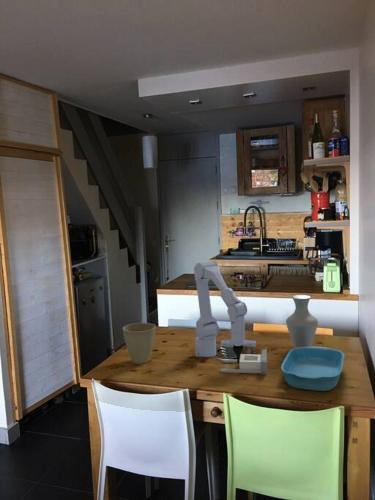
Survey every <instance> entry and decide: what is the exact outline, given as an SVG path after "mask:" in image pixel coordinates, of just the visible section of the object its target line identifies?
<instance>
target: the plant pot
mask: <svg viewBox="0 0 375 500" xmlns="http://www.w3.org/2000/svg"><path fill="white" fill-rule="evenodd" d="M156 328H157V327H156V324H155V323H154V324H153V323H150V322H149V323H148V322H136V323H134V322H133V323H129V324H126V325H124V326H123V327H122V334H123V337H124V342H125V344H126V348H127V352H128V354H129V357H130V359H131V361H132V363H133V364H136V365H137V364H138V365H139V364H140V365H142V364H146V363H148V362H149V360H150V358H151V354H152V352H153V351H152V350H153V348H154V347H153V346H154V343H155V336H156V335H155V333H156Z"/></svg>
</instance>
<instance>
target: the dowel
mask: <svg viewBox="0 0 375 500" xmlns="http://www.w3.org/2000/svg"><path fill="white" fill-rule="evenodd" d="M250 347H251V346H243V350H242V352H241V354H251V351H250V350H251V349H250Z"/></svg>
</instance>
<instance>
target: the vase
mask: <svg viewBox="0 0 375 500" xmlns="http://www.w3.org/2000/svg"><path fill="white" fill-rule="evenodd" d="M291 298H292V300H293V302H294V304H295V307H294V308H295V309H294V312H293V313H292V314H291V315H290V316H288V317H287V318H286V320H285V322H286V327H287V331H288V333H289V338H290V339H291V342H292V344H293V347H294V348H296V347H309V346H312V344H313V341H314V339H315V335H316V333H317V329H318V325H319V324H318V323H319V321H318V319H317V318H316V317H315V316H314V315H312V313H310V311H309V309H308V306H309V302H310V299H311V296H310V295H305V294H297V295H292V297H291Z"/></svg>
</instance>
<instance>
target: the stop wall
mask: <svg viewBox="0 0 375 500" xmlns="http://www.w3.org/2000/svg"><path fill="white" fill-rule="evenodd" d="M267 353H268V350H267V349H266V348H264V349H261V355H262V359H261V368H262V373H261V375H262V376H266V375H268V373H267V372H268V354H267Z"/></svg>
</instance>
